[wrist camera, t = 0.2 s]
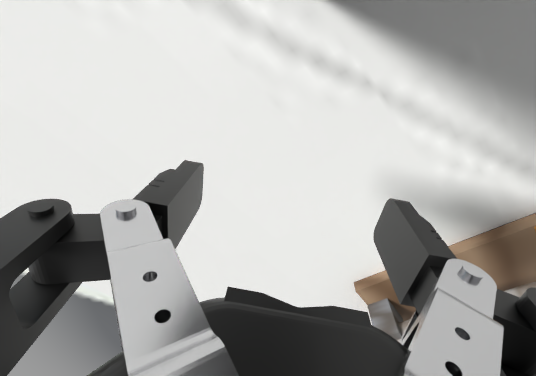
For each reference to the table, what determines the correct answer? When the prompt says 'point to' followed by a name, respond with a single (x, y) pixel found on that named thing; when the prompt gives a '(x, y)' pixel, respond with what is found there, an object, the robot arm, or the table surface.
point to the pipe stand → (473, 251)
